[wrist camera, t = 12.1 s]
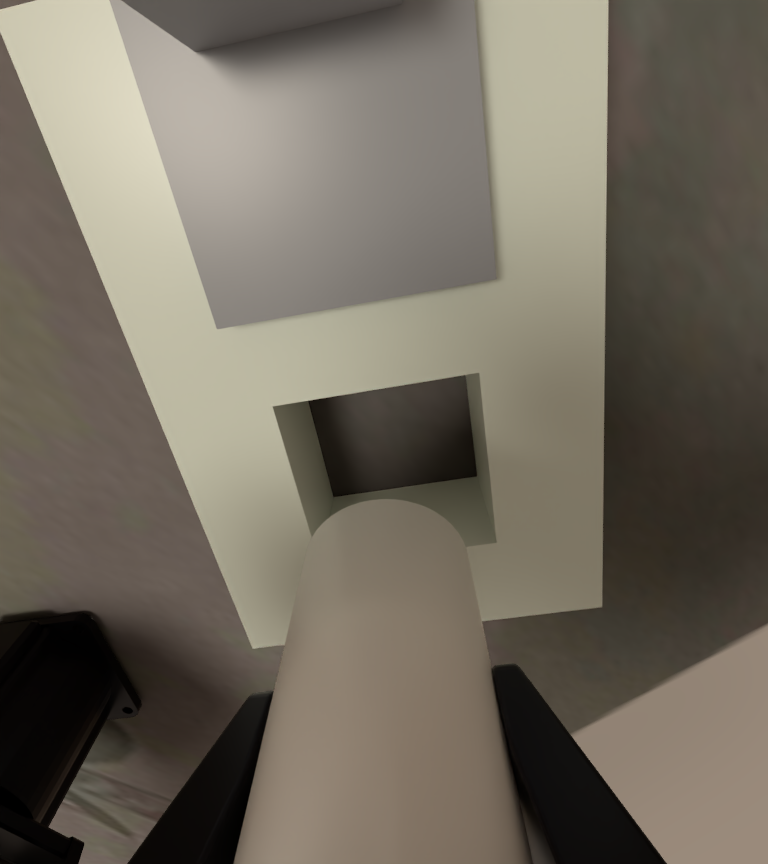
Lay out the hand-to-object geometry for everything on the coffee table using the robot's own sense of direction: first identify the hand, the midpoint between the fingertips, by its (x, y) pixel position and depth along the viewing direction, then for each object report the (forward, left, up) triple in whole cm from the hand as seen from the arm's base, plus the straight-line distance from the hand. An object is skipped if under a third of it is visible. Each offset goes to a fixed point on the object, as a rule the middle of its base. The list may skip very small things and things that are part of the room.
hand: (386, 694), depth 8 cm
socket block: (+3, 0, -11) cm, 11 cm away
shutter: (+9, 0, -7) cm, 11 cm away
